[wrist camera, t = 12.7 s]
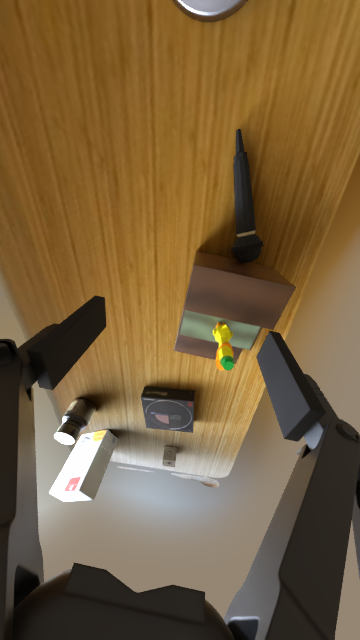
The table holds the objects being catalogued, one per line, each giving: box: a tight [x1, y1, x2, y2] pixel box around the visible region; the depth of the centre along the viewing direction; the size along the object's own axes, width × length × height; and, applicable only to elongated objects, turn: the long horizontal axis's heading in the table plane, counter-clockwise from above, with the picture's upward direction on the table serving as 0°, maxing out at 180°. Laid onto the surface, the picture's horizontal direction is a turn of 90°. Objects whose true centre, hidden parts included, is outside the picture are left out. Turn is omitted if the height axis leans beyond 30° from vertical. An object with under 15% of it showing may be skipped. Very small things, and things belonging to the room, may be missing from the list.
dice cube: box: [163, 446, 177, 467], centre depth 77 cm, size 5×5×5 cm
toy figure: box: [213, 322, 235, 370], centre depth 33 cm, size 7×4×12 cm, turn 176°
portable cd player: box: [141, 387, 195, 433], centre depth 63 cm, size 16×17×4 cm
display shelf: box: [174, 251, 296, 364], centre depth 40 cm, size 24×16×12 cm, turn 169°
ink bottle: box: [54, 399, 96, 445], centre depth 65 cm, size 10×9×12 cm
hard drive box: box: [49, 429, 118, 502], centre depth 72 cm, size 16×8×20 cm, turn 118°
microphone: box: [231, 129, 264, 263], centre depth 32 cm, size 6×6×20 cm
